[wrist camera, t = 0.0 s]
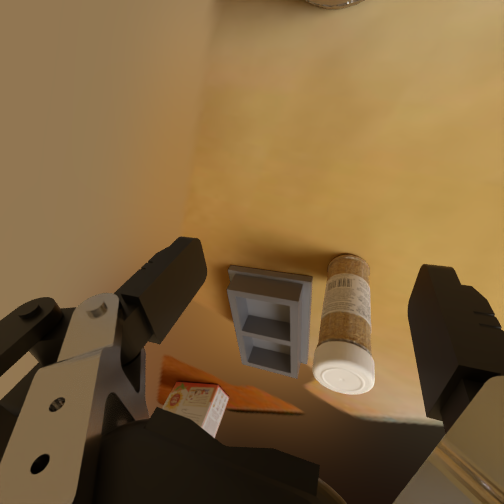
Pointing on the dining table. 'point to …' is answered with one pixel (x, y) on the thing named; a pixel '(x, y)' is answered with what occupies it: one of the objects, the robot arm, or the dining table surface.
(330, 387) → the sprinkles bottle
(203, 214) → the dining table surface
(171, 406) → the cracker box
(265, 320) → the caddy
